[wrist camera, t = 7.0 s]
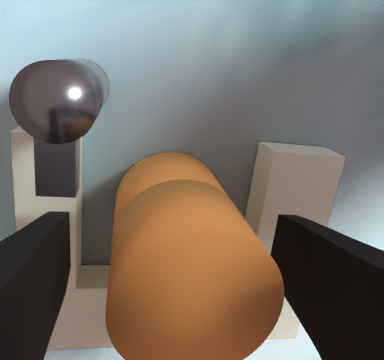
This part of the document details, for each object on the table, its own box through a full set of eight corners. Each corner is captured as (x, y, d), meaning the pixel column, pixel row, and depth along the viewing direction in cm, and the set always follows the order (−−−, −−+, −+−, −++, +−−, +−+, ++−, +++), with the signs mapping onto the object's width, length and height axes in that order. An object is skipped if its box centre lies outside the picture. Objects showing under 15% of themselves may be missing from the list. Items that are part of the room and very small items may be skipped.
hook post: (110, 62, 12) (97, 65, 7) (107, 147, 13) (94, 198, 8) (56, 55, 11) (6, 55, 7) (57, 143, 12) (14, 195, 8)
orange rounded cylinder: (225, 153, 14) (299, 229, 8) (213, 246, 15) (268, 370, 9) (115, 149, 13) (104, 231, 7) (115, 248, 14) (105, 386, 8)
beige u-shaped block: (324, 146, 14) (346, 157, 13) (281, 314, 17) (295, 338, 16) (24, 122, 12) (10, 131, 10) (34, 322, 15) (23, 351, 13)
